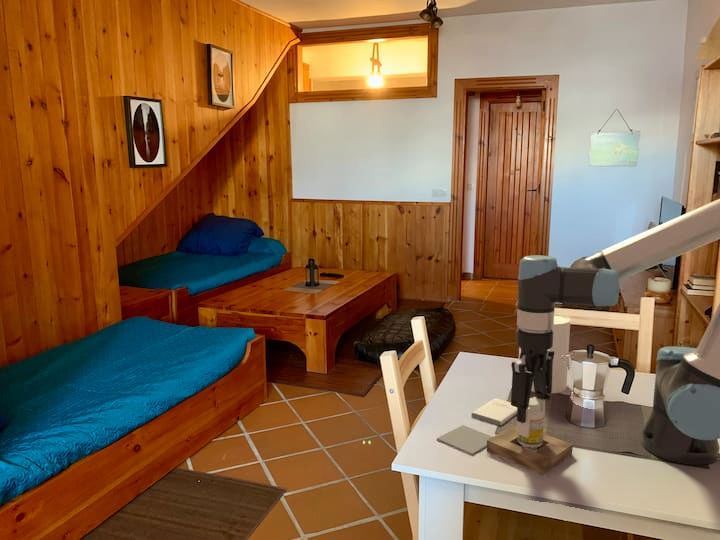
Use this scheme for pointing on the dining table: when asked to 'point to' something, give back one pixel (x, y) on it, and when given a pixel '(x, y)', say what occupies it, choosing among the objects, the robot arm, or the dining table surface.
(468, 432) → the felt pad
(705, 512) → the dining table surface
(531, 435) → the supplement bottle
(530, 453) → the block
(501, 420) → the external hard drive
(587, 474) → the dining table surface
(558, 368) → the canister
